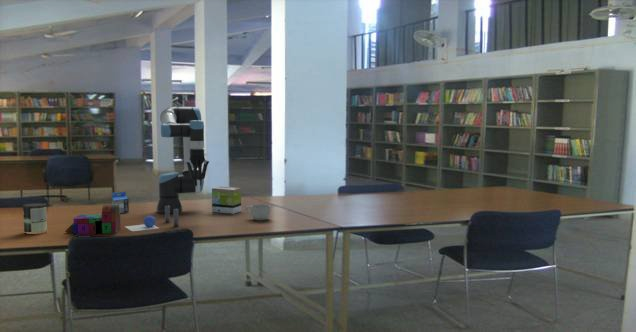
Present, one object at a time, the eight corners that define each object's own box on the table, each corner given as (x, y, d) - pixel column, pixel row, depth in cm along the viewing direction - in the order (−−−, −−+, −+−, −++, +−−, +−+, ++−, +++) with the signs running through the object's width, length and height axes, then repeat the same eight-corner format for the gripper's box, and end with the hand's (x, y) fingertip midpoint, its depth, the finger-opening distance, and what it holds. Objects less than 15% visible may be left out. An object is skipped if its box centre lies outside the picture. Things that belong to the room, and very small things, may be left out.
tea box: (211, 212, 331) (211, 188, 330) (220, 209, 341) (220, 186, 339) (233, 214, 326) (233, 189, 324) (241, 211, 335) (241, 187, 334)
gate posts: (164, 222, 300) (164, 205, 299) (169, 221, 302) (168, 205, 301) (174, 227, 287) (174, 209, 286) (179, 226, 289) (179, 209, 288)
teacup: (273, 218, 312) (273, 204, 311) (265, 222, 302) (265, 207, 301) (251, 217, 317) (250, 203, 316) (242, 220, 306) (242, 206, 306)
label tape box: (114, 214, 324) (113, 193, 323) (111, 213, 327) (111, 192, 326) (129, 212, 330) (128, 192, 329) (126, 211, 333) (125, 191, 332)
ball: (153, 215, 291) (152, 226, 291) (142, 214, 287) (141, 226, 287) (158, 216, 286) (156, 228, 286) (146, 216, 282) (145, 228, 282)
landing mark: (124, 226, 287) (124, 226, 287) (150, 224, 295) (150, 223, 295) (132, 231, 276) (132, 231, 276) (159, 228, 284) (159, 228, 284)
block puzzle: (122, 227, 287) (122, 200, 285) (115, 234, 270) (115, 206, 269) (72, 229, 283) (71, 201, 282) (61, 236, 266) (60, 207, 265)
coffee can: (20, 235, 267) (18, 206, 266) (29, 230, 277) (28, 202, 276) (42, 234, 268) (41, 206, 267) (50, 230, 278) (49, 202, 277)
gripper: (188, 149, 293) (189, 193, 295) (211, 148, 300) (211, 191, 302) (183, 148, 299) (183, 191, 301) (205, 147, 306) (206, 190, 308)
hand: (197, 191), depth 301 cm, fingers closed
